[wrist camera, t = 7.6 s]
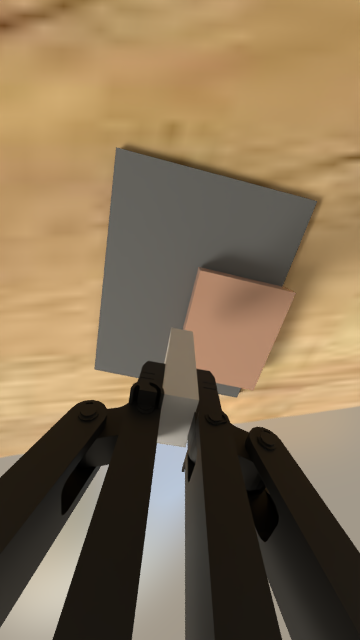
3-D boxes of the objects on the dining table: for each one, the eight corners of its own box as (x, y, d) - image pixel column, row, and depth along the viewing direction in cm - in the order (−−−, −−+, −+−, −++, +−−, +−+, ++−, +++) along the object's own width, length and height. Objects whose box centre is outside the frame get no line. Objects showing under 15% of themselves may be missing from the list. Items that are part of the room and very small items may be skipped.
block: (200, 270, 17) (296, 292, 18) (198, 266, 19) (283, 286, 20) (173, 374, 21) (253, 390, 21) (174, 361, 23) (247, 376, 23)
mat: (118, 150, 17) (116, 147, 16) (313, 202, 18) (317, 201, 17) (96, 366, 24) (94, 369, 23) (235, 393, 25) (237, 397, 24)
